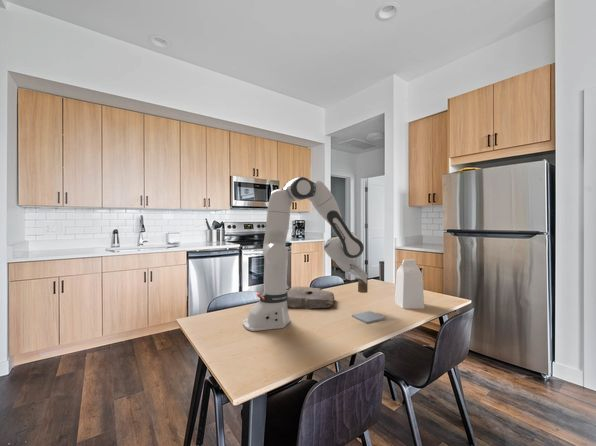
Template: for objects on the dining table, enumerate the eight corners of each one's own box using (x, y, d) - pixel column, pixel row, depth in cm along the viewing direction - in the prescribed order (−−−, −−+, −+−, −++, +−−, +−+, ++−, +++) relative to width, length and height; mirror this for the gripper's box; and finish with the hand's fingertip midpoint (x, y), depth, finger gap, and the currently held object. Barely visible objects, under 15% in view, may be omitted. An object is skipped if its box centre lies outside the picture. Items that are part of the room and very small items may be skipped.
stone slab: (277, 308, 154) (277, 297, 154) (289, 294, 183) (289, 284, 183) (333, 311, 148) (333, 299, 148) (335, 296, 177) (335, 286, 177)
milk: (414, 302, 162) (414, 258, 162) (424, 308, 151) (424, 261, 151) (394, 302, 162) (394, 258, 162) (402, 308, 151) (402, 261, 150)
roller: (362, 293, 146) (362, 274, 146) (356, 291, 150) (356, 272, 150) (369, 292, 148) (369, 273, 148) (363, 290, 153) (363, 272, 153)
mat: (366, 323, 129) (366, 321, 129) (351, 316, 139) (351, 314, 139) (385, 319, 135) (385, 317, 135) (370, 312, 145) (370, 311, 144)
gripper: (359, 261, 138) (377, 280, 140) (343, 256, 157) (359, 273, 160) (351, 271, 137) (369, 289, 139) (336, 264, 157) (352, 281, 159)
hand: (363, 280), depth 149 cm, fingers closed on roller, 5 cm apart
